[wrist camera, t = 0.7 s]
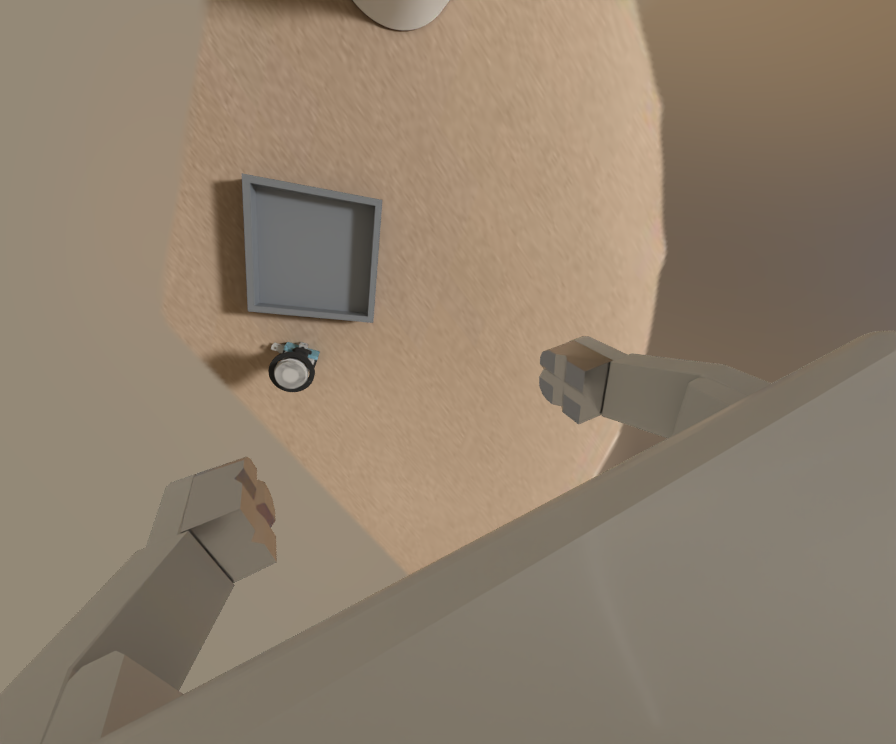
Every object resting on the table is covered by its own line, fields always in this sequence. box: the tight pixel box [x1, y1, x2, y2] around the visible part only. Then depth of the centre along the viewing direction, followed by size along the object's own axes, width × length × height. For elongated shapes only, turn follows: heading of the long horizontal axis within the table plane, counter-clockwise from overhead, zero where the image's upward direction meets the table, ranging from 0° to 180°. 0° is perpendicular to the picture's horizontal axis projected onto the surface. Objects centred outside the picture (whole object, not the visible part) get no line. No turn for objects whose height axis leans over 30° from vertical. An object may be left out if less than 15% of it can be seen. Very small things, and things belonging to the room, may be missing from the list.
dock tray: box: [242, 174, 382, 323], centre depth 46 cm, size 16×16×4 cm
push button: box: [269, 342, 320, 392], centre depth 47 cm, size 7×5×10 cm
